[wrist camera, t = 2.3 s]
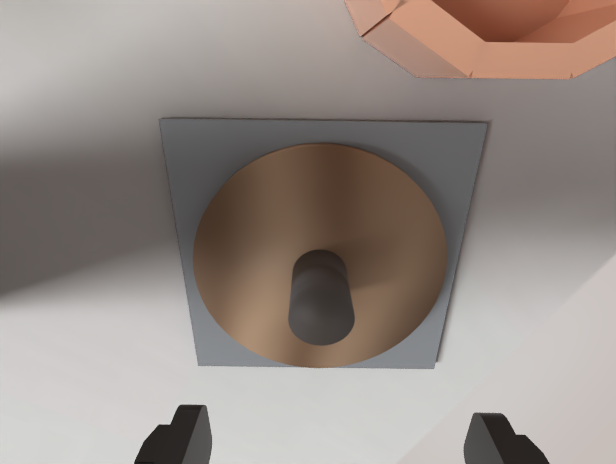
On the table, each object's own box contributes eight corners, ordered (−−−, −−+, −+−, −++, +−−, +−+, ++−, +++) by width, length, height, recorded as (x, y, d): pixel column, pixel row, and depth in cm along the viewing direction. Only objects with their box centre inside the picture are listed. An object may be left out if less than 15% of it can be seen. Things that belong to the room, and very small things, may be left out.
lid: (211, 355, 23) (187, 424, 18) (181, 140, 17) (135, 163, 13) (421, 357, 23) (449, 427, 18) (462, 143, 17) (517, 167, 13)
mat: (200, 360, 24) (198, 365, 23) (162, 118, 17) (158, 119, 17) (431, 363, 24) (433, 369, 23) (482, 122, 17) (487, 123, 17)
